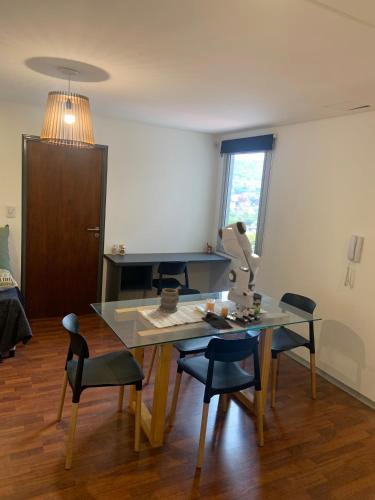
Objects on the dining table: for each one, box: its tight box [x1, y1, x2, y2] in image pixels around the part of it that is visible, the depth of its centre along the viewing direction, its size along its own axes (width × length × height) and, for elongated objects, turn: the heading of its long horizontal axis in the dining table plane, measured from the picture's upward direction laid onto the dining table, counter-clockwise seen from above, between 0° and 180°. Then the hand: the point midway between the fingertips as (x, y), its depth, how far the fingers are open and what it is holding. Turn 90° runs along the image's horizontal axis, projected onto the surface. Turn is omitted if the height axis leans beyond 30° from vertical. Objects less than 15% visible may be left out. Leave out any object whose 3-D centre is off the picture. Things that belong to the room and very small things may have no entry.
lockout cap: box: [220, 306, 229, 318], centre depth 255 cm, size 4×4×6 cm
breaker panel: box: [224, 311, 263, 328], centre depth 251 cm, size 17×20×4 cm
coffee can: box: [245, 292, 263, 316], centre depth 268 cm, size 10×10×14 cm
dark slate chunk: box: [201, 311, 234, 330], centre depth 242 cm, size 15×22×5 cm
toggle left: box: [236, 311, 243, 318], centre depth 245 cm, size 3×2×3 cm
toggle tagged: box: [242, 309, 249, 316], centre depth 250 cm, size 3×2×3 cm
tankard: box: [158, 285, 182, 314], centre depth 260 cm, size 20×13×15 cm, turn 143°
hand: (238, 309), depth 253 cm, fingers closed
